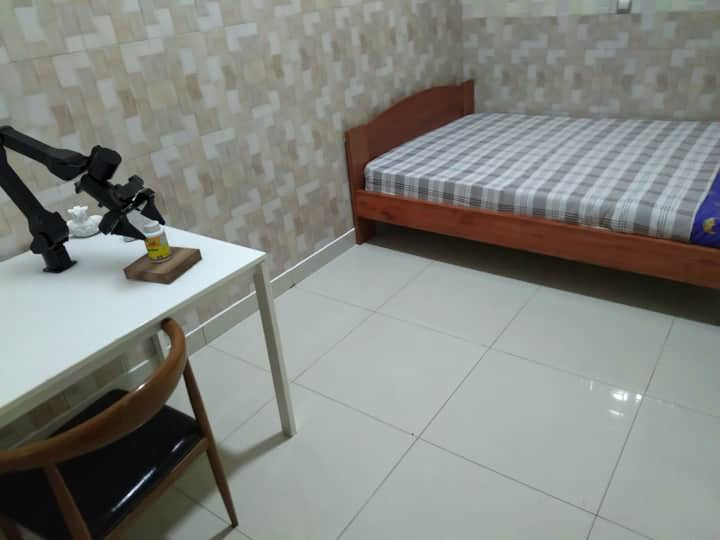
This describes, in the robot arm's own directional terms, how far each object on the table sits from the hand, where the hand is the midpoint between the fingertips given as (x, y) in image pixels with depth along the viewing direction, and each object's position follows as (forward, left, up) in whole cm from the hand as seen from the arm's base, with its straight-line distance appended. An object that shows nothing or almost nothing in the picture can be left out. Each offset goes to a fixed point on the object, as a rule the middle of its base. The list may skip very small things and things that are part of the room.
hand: (155, 231), depth 132 cm
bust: (-44, +15, -11) cm, 48 cm away
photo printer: (-24, +17, -11) cm, 31 cm away
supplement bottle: (-1, 0, -8) cm, 8 cm away
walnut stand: (-1, 0, -11) cm, 11 cm away
